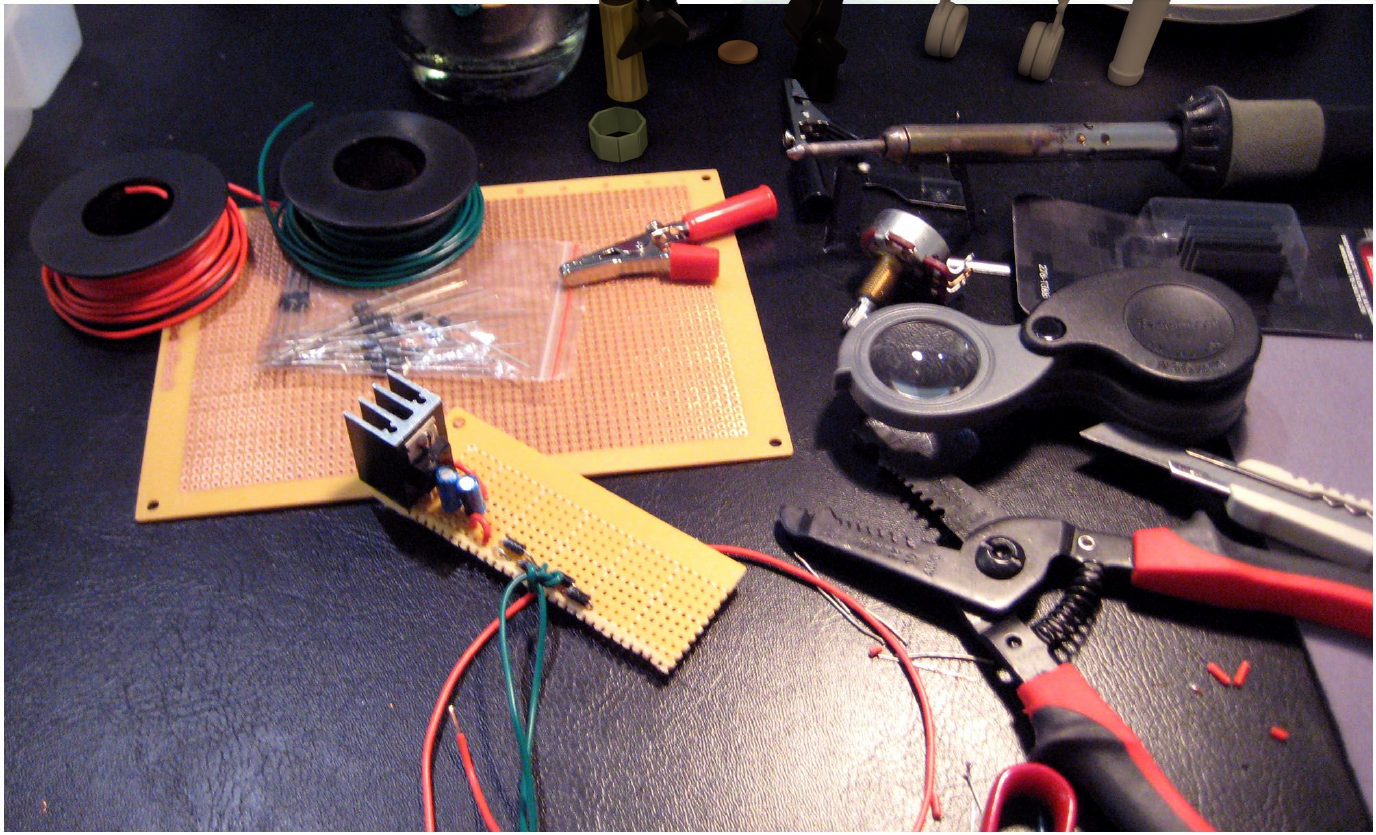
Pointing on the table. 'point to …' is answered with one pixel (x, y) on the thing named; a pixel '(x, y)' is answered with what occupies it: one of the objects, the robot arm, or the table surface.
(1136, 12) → the bottle
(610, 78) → the vase
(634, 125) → the ring
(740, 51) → the coaster
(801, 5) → the robot arm
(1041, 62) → the headphones
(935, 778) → the table surface
